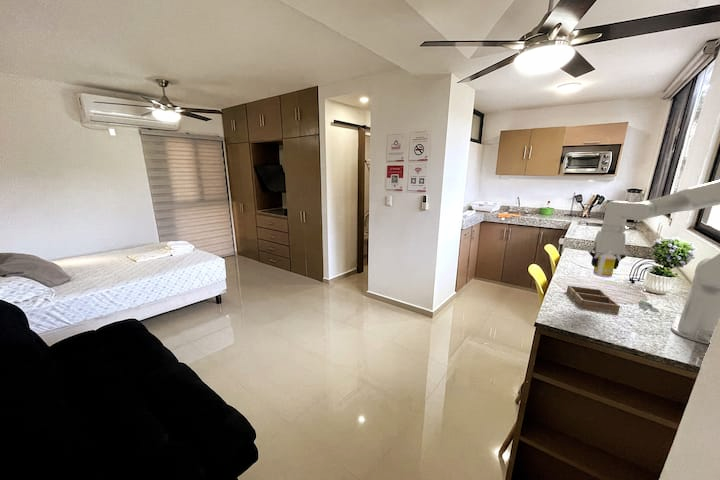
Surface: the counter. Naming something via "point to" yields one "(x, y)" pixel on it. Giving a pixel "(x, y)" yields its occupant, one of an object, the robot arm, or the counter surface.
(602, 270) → the supplement bottle
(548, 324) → the counter surface
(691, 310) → the robot arm
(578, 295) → the wooden divided tray
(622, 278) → the counter surface
